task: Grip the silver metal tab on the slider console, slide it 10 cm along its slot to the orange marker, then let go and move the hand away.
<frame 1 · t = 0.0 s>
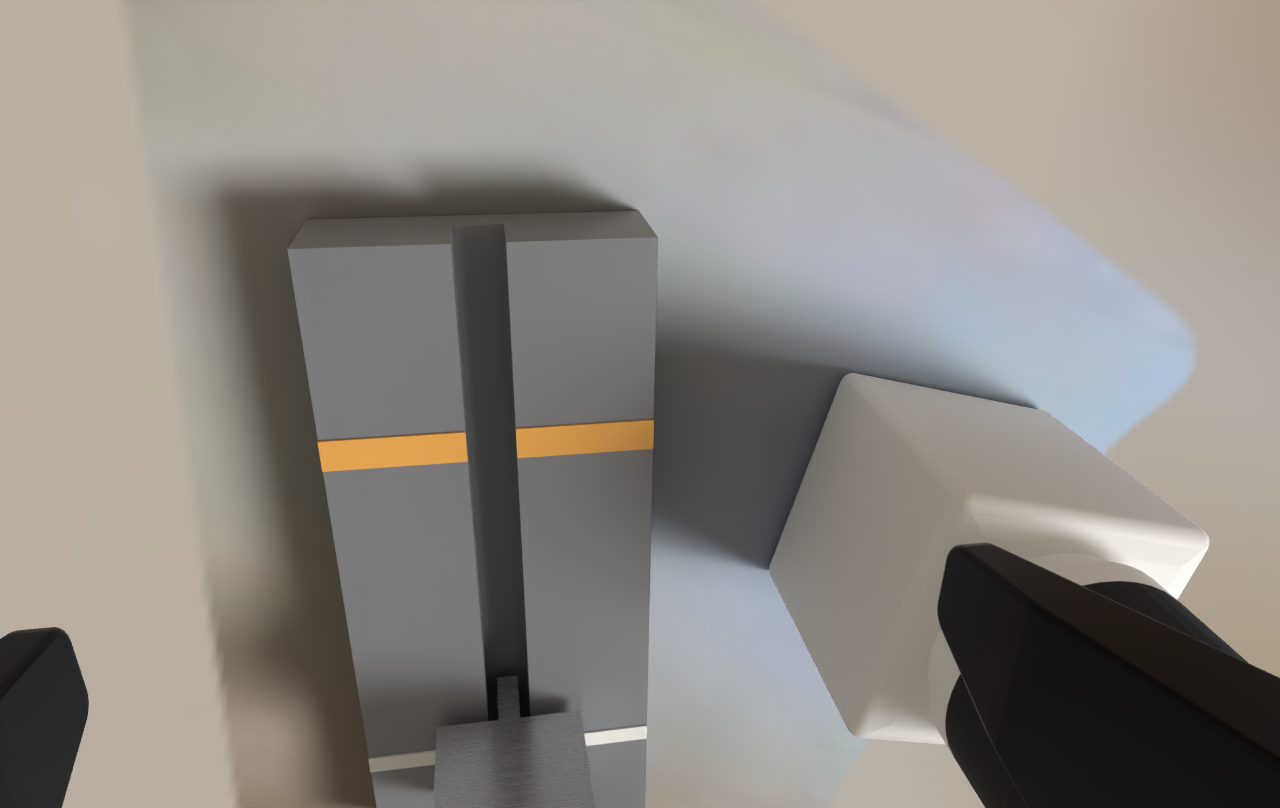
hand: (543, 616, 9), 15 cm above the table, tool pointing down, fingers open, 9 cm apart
slider console: (499, 553, 26), on the table
medicine bottle: (900, 487, 28), on the table
fader tab: (514, 796, 24), point 4 cm above the table, slide at -5.0 cm
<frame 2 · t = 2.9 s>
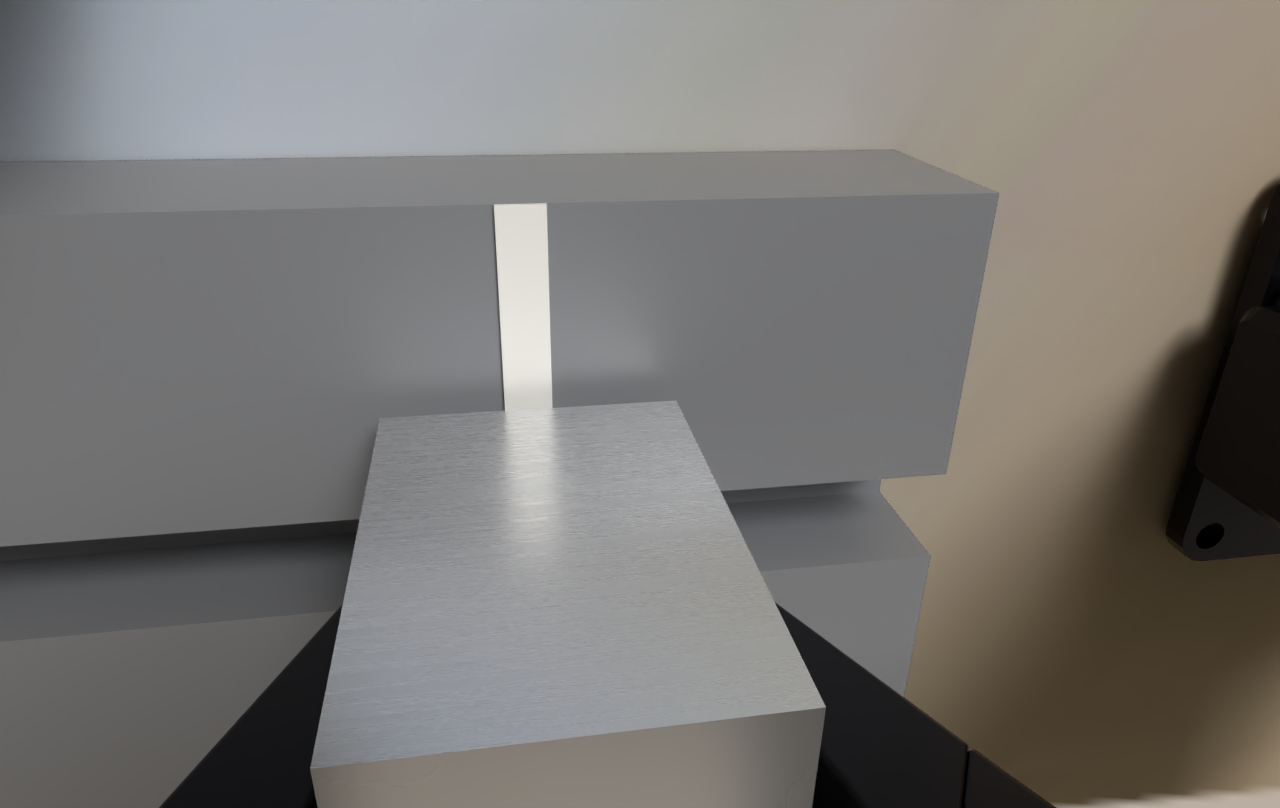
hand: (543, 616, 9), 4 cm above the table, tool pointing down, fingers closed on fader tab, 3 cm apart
slider console: (141, 469, 12), on the table
fader tab: (547, 652, 9), point 4 cm above the table, slide at -5.0 cm, touching gripper
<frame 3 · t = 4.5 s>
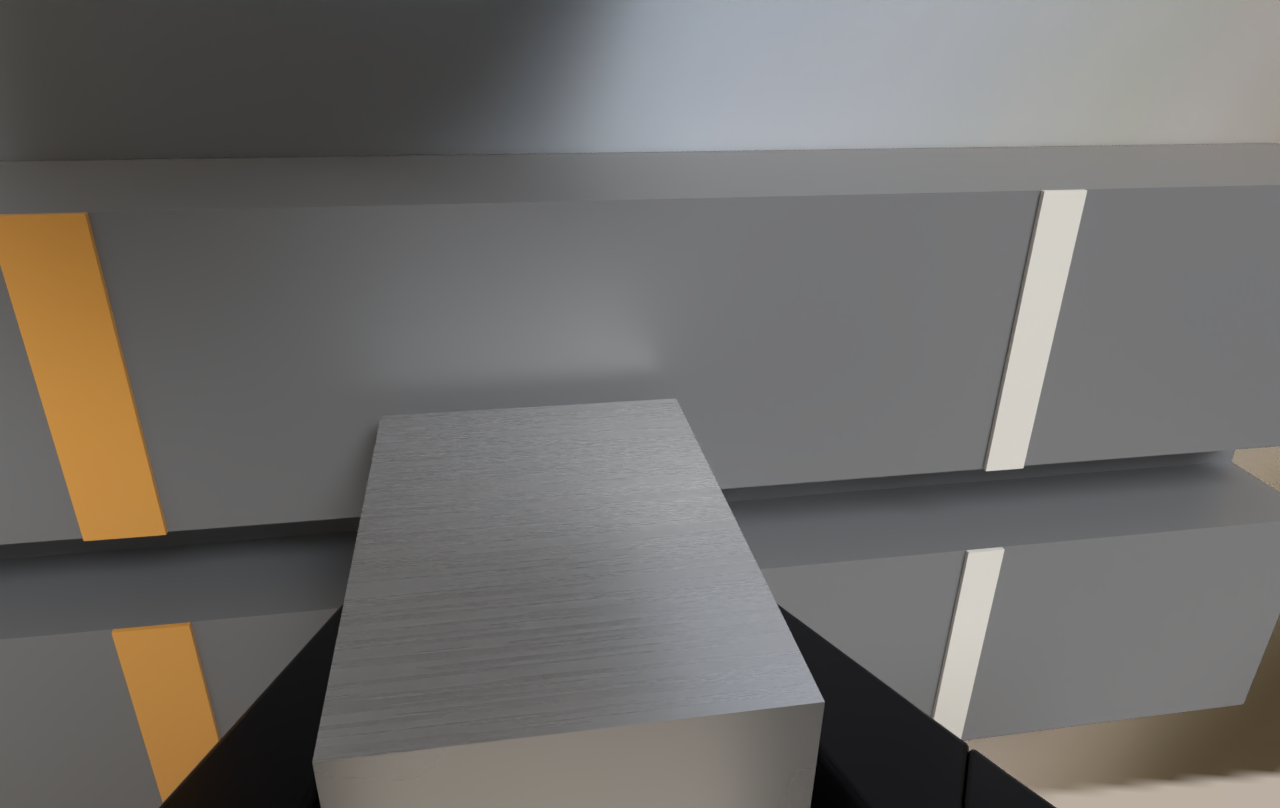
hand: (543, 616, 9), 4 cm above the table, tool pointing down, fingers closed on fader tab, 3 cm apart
slider console: (575, 439, 13), on the table
fader tab: (548, 649, 9), point 4 cm above the table, slide at 0.7 cm, touching gripper
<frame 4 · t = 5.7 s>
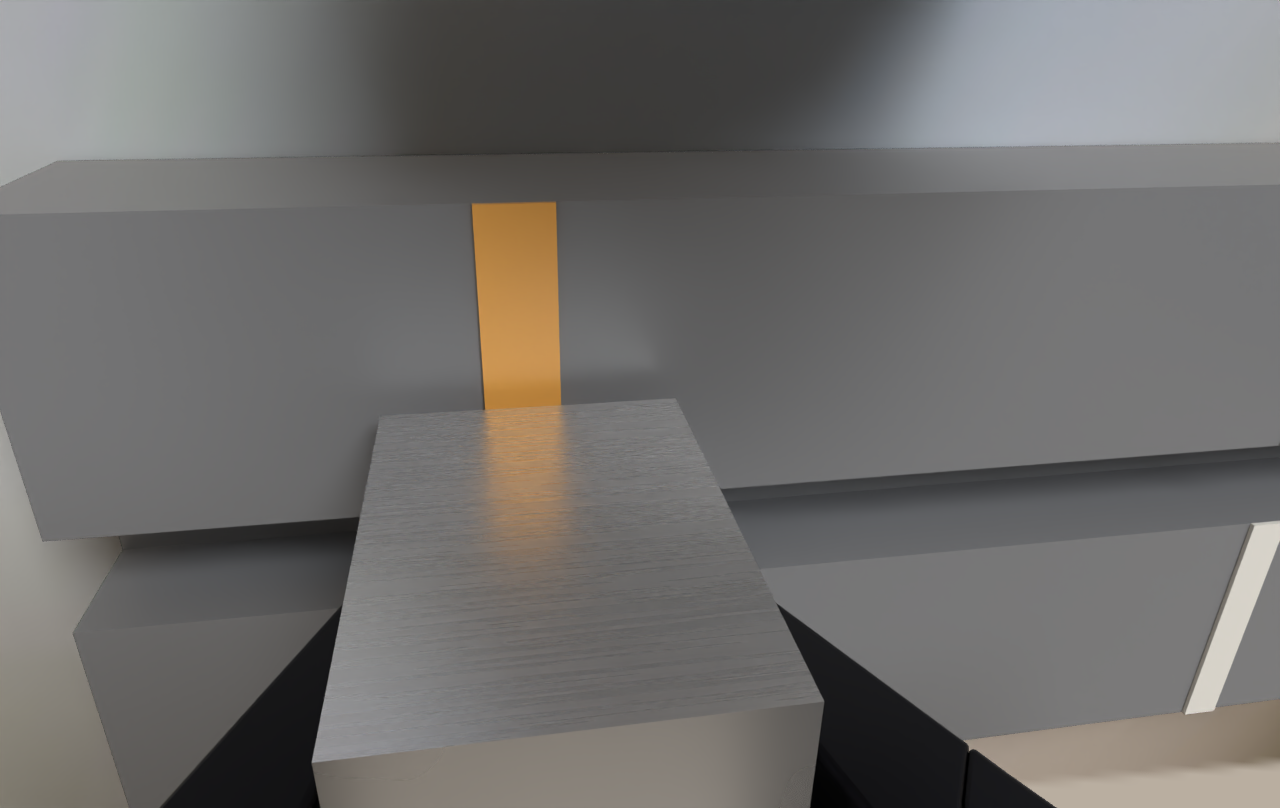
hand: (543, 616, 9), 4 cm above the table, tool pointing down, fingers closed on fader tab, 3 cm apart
slider console: (852, 421, 13), on the table
fader tab: (547, 649, 9), point 4 cm above the table, slide at 4.9 cm, touching gripper
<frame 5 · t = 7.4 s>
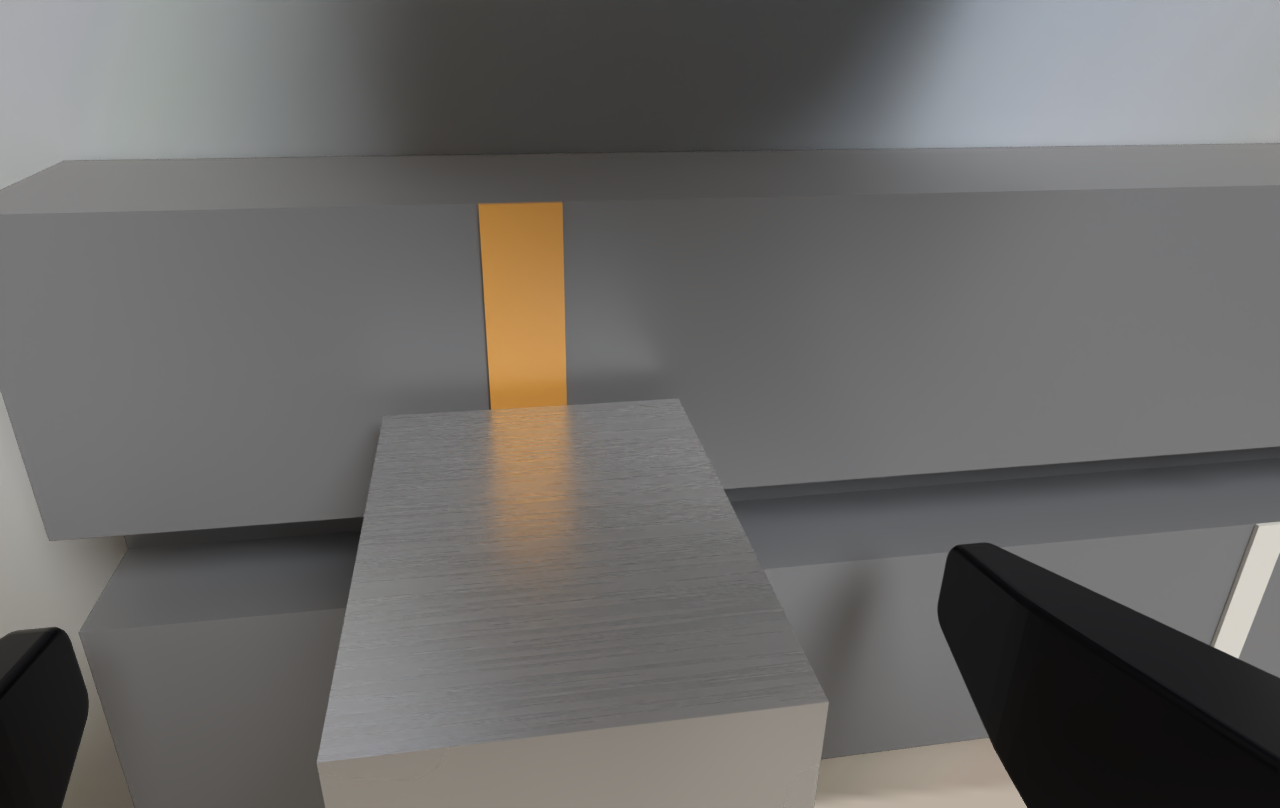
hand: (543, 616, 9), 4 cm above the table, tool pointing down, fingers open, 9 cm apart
slider console: (857, 421, 13), on the table
fader tab: (550, 649, 9), point 4 cm above the table, slide at 5.0 cm
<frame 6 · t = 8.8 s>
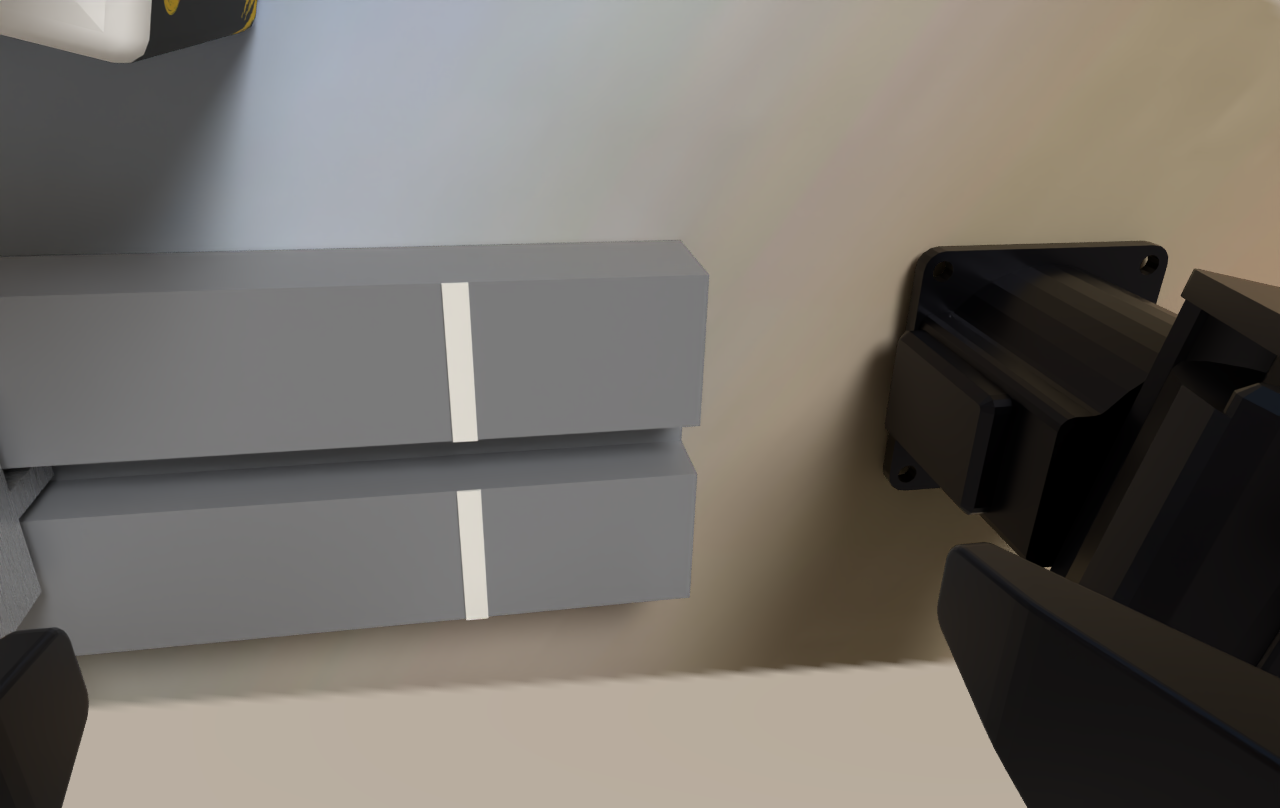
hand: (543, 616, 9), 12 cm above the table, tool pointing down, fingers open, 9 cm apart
slider console: (241, 424, 20), on the table
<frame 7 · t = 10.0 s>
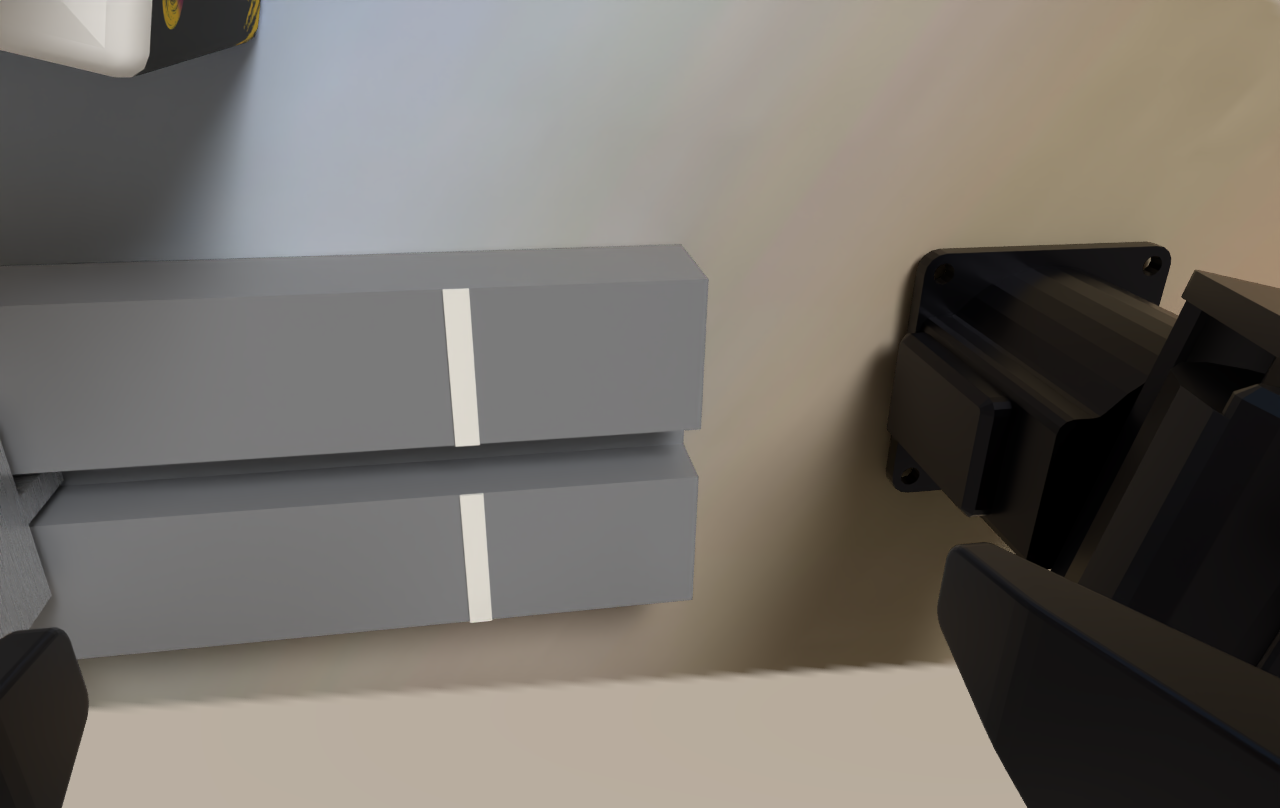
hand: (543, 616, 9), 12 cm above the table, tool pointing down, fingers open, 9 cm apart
slider console: (247, 429, 20), on the table
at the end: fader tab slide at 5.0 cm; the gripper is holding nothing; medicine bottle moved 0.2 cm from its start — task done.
